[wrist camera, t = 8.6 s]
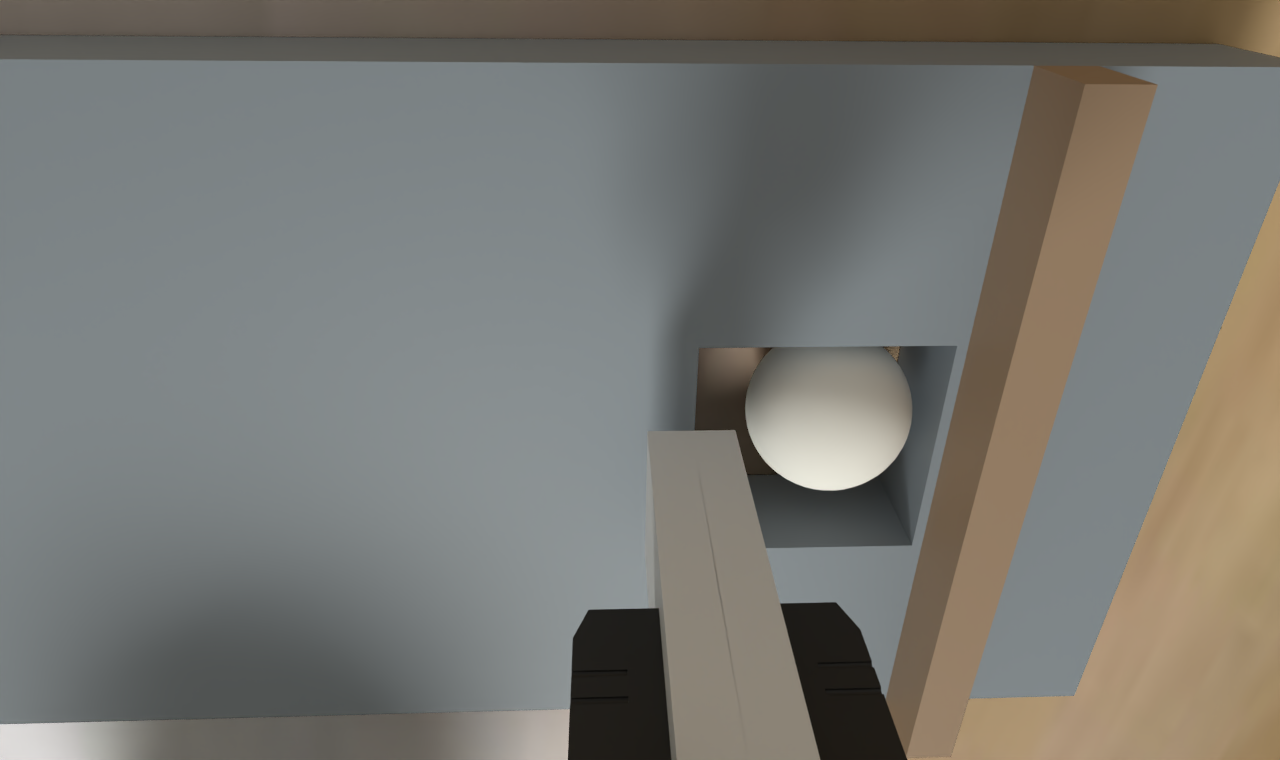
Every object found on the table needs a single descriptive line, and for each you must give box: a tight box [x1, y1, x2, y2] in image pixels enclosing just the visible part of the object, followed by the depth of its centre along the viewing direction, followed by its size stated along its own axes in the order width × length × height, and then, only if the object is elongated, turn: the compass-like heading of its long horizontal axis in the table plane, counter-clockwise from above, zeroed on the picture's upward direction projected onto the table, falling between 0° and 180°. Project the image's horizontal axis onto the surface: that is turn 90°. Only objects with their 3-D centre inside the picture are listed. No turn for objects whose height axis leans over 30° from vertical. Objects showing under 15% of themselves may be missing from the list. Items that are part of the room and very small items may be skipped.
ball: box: [745, 346, 912, 490], centre depth 16 cm, size 3×3×3 cm
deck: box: [0, 35, 1280, 758], centre depth 16 cm, size 26×14×4 cm, turn 89°
